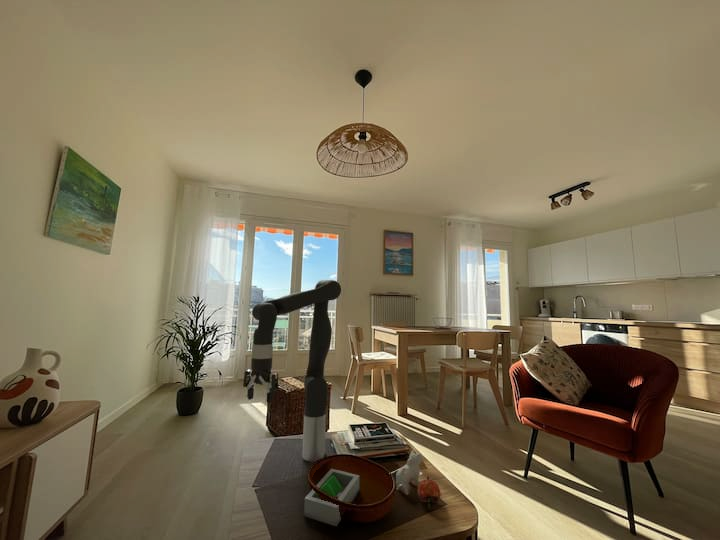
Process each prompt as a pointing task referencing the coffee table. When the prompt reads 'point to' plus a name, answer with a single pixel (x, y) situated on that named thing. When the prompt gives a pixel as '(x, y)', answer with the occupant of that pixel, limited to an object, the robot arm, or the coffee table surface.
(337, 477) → the bin
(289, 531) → the coffee table surface
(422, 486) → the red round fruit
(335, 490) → the pipe clamp
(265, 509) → the coffee table surface
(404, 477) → the dog figurine
